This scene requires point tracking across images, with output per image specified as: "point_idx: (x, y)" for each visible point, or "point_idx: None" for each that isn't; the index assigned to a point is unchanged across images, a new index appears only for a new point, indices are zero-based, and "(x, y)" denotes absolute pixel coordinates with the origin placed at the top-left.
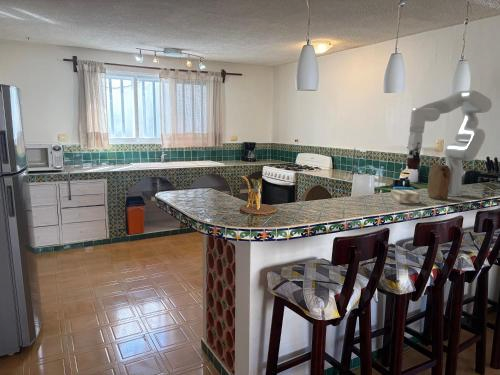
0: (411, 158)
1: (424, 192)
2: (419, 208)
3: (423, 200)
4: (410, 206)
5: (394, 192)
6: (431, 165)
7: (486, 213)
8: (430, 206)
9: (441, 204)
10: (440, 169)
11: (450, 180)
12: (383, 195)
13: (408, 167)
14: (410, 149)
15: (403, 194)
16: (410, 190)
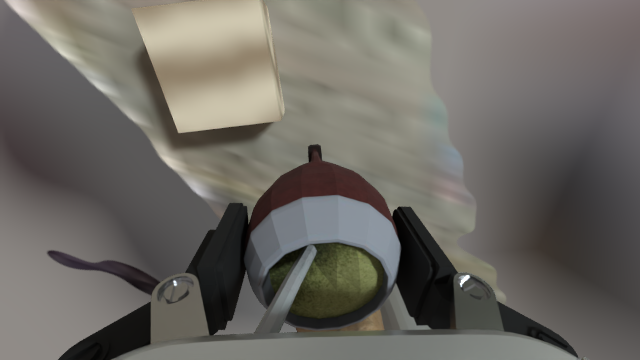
0: (264, 215)
1: (426, 223)
2: (99, 89)
3: (275, 167)
4: (125, 60)
5: (208, 1)
6: (366, 325)
7: (127, 274)
8: (164, 152)
9: (217, 204)
10: (297, 330)
11: (382, 322)
12: (367, 5)
13: (311, 155)
14: (286, 337)
15: (145, 36)
16: (259, 118)
